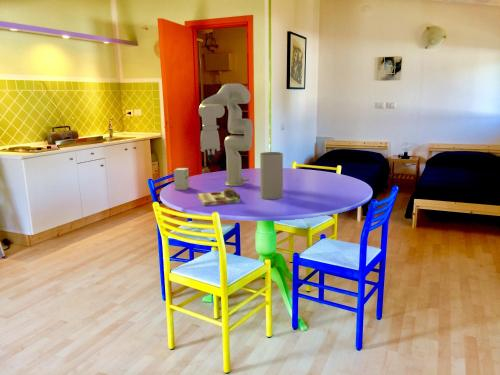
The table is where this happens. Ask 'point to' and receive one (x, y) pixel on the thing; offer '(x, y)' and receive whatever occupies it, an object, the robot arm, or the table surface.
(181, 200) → the table surface
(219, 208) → the table surface
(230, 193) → the walnut block
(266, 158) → the cylinder vase
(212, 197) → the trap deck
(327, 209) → the table surface
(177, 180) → the supplement box
